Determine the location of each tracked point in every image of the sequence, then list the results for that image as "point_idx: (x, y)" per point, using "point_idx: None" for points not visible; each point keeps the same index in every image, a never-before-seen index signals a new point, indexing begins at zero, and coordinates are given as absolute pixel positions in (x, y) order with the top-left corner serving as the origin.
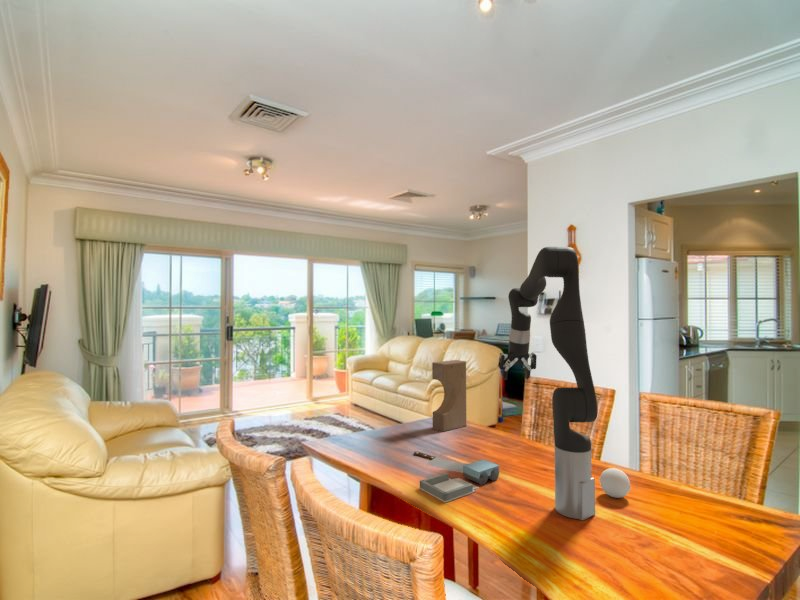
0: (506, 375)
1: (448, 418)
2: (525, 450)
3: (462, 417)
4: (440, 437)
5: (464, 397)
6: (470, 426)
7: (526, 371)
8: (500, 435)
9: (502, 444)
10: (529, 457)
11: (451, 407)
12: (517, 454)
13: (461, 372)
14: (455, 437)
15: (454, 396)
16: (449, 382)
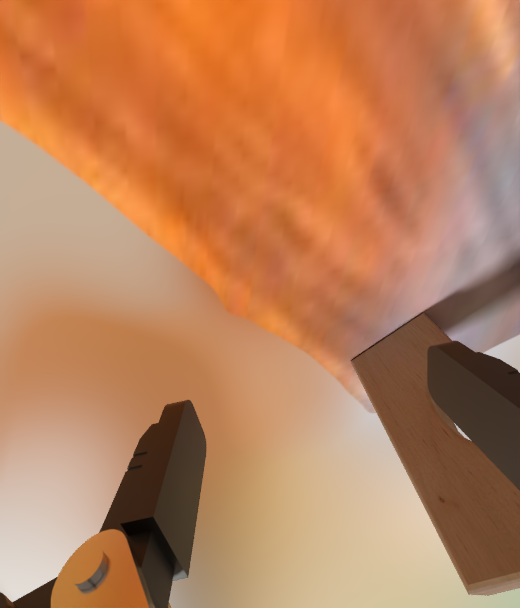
0: (493, 372)
1: (426, 344)
2: (220, 178)
3: (373, 370)
4: (449, 267)
5: (393, 425)
6: (341, 359)
7: (177, 512)
8: (278, 309)
9: (287, 231)
10: (211, 90)
11: None
12: (253, 125)
13: (464, 520)
14: (407, 274)
15: (439, 413)
16: None
